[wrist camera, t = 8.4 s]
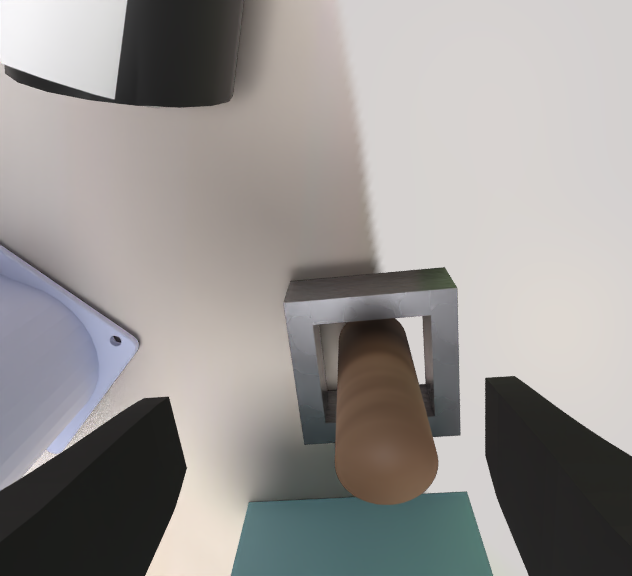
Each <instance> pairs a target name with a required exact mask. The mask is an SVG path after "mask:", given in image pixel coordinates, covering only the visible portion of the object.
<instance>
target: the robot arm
mask: <svg viewBox="0 0 632 576" xmlns="http://www.w3.org/2000/svg"><path fill="white" fill-rule="evenodd" d="M114 336H117V337H119V338H120V339H121V342H117V341H116V340H115V339H114ZM138 348H139V343H138V340H137V339H136V338H135V337H134V336H133V335H131V334H130V333H128V332H127V331H125V330H124V329H122V328H121V327H119V326H118V325H117V324H115V323H114V322H112V321H111V320H109V319H108V318H106V317H105V316H103V315H102V314H101V313H99V312H98V311H96V310H95V309H93V308H92V307H90V306H89V305H87V304H86V303H84V302H83V301H82V300H80V299H79V298H77V297H76V296H74V295H73V294H71V293H70V292H68V291H67V290H66V289H64V288H63V287H61V286H60V285H58V284H57V283H55V282H54V281H52V280H51V279H50V278H48V277H47V276H45V275H44V274H42V273H41V272H39V271H38V270H36V269H35V268H34V267H32V266H31V265H29V264H28V263H26V262H25V261H23V260H22V259H20V258H19V257H18V256H16V255H15V254H13V253H12V252H10V251H9V250H7V249H6V248H4V247H3V246H2V245H0V576H145V575H146V572H147V570H148V568H149V566H150V564H151V561H152V559H153V557H154V555H155V553H156V550H157V548H158V546H159V544H160V542H161V539H162V537H163V535H164V532H165V530H166V528H167V526H168V523H169V521H170V519H171V517H172V514H173V512H174V509H175V507H176V503H177V500H178V497H179V494H180V491H181V487H182V484H183V480H184V476H185V473H186V469H187V467H186V463H185V459H184V455H183V451H182V447H181V443H180V439H179V435H178V431H177V427H176V423H175V419H174V415H173V411H172V407H171V403H170V399H169V397H157V398H144V399H142V400H140V401H138V402H136V403H135V404H133V405H131V406H130V407H128V408H127V409H125V410H124V411H122V412H121V413H119V414H118V415H116V416H115V417H113V418H112V419H110V420H109V421H107V422H106V423H104V424H103V425H102V426H100V427H99V428H97V429H96V430H94V431H93V432H91V433H90V434H88V435H87V436H86V437H84V438H83V439H81V440H80V441H78V442H77V443H75V444H74V445H72V446H71V447H69V448H68V449H66V450H65V451H63V450H64V449H65V447H66V446H67V445H68V443H69V442H70V441H71V439H72V438H73V437H74V435H75V434H76V433H77V431H78V430H79V429H80V427H81V426H82V425H83V423H84V422H85V421H86V419H87V418H88V416H89V415H90V414H91V412H92V411H93V410H94V408H95V407H96V406H97V404H98V403H99V402H100V400H101V399H102V398H103V396H104V395H105V394H106V392H107V391H108V390H109V388H110V387H111V386H112V384H113V383H114V381H115V380H116V379H117V377H118V376H119V375H120V373H121V372H122V371H123V369H124V368H125V367H126V365H127V364H128V363H129V361H130V360H131V359H132V357H133V356H134V355H135V353H136V352H137V351H138ZM485 380H486V381H485V392H486V393H485V396H486V397H485V398H486V399H485V413H486V414H485V428H486V429H485V436H486V437H485V453H486V454H485V456H486V460H487V463H488V467H489V470H490V475H491V478H492V482H493V485H494V489H495V493H496V496H497V499H498V502H499V504H500V507H501V509H502V512H503V514H504V517H505V519H506V521H507V524H508V526H509V528H510V531H511V533H512V536H513V538H514V541H515V543H516V546H517V548H518V550H519V553H520V555H521V558H522V560H523V563H524V565H525V567H526V570H527V572H528V575H529V576H632V456H630V455H629V454H627V453H625V452H624V451H622V450H620V449H619V448H617V447H616V446H614V445H612V444H611V443H609V442H608V441H606V440H604V439H603V438H601V437H600V436H598V435H596V434H595V433H594V432H592V431H591V430H589V429H588V428H586V427H585V426H583V425H582V424H580V423H579V422H577V421H576V420H574V419H573V418H571V417H570V416H569V415H567V414H566V413H564V412H563V411H562V410H560V409H559V408H558V407H556V406H555V405H553V404H552V403H551V402H549V401H548V400H546V399H545V398H544V397H542V396H541V395H540V394H538V393H537V392H536V391H535V390H533V389H532V388H530V387H529V386H528V385H526V384H525V383H523V382H522V381H521V380H519V379H518V378H516V377H515V376H510V377H492V378H485ZM45 450H47V451H49V452H51V453H55V454H58V453H60V454H59V455H57V456H55V457H54V458H52V459H51V460H49V461H48V462H46V463H45V464H43V465H41V466H40V467H38V468H37V469H35V470H34V471H32V472H30V473H29V474H27V475H26V476H24V477H23V478H21V477H22V476H23V475H24V474H25V473H26V472H27V471H28V469H29V468H30V467H31V466H32V465H33V464H34V463H35V462H36V460H37V459H38V458H39V457H40V456H41V455H42V454H43V452H44V451H45ZM62 451H63V452H62ZM61 452H62V453H61Z"/></svg>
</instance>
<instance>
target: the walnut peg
mask: <svg viewBox="0 0 632 576" xmlns="http://www.w3.org/2000/svg"><path fill="white" fill-rule="evenodd" d="M335 470H336V474H337V476H338V479H339V480H340V482H341V484H342V485H343V486H344V488H345V489H346V490H347V491H348V492H350V493H351V494H352V495H354V496H355V497H357V498H359V499H361V500H363V501H366V502H369V503H373V504H379V505H394V504H400V503H404V502H407V501H410V500H412V499H414V498H416V497H418V496H419V495H421V494H422V493H423V492H425V491H426V490H427V489H428V488H429V486H430V485H431V484H432V482H433V480H434V478H435V476H436V474H437V470H438V456H437V452H436V448H435V444H434V441H433V436H432V433H431V429H430V425H429V421H428V417H427V413H426V410H425V406H424V402H423V398H422V394H421V390H420V387H419V383H418V379H417V375H416V371H415V368H414V364H413V360H412V356H411V352H410V348H409V344H408V341H407V337H406V333H405V331H404V328H403V327H402V325H401V324H400V323H399V322H398V321H397V320H396V319H395V318H390V319H378V320H366V321H354V322H347V323H346V324H345V325H344V327H343V329H342V331H341V333H340V337H339V354H338V382H337V411H336V440H335Z"/></svg>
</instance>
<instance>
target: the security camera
mask: <svg viewBox="0 0 632 576" xmlns="http://www.w3.org/2000/svg"><path fill="white" fill-rule="evenodd" d="M243 5H244V0H0V63H1V64H4V65H5V74H7V75H8V76H9V77H11V78H12V79H14V80H15V81H17V82H18V83H21V84H25V85H28V86H31V87H34V88H37V89H40V90H43V91H46V92H51V93H56V94H61V95H66V96H71V97H77V98H82V99H87V100H93V101H102V102H110V103H119V104H127V105H136V106H147V107H154V108H159V107H179V108H180V107H199V106H213V105H217V104H221V103H225V102H229V101H230V99H231V98H232V96H233V90H234V82H235V73H236V65H237V56H238V48H239V39H240V31H241V22H242V14H243Z"/></svg>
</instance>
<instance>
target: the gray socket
mask: <svg viewBox="0 0 632 576" xmlns="http://www.w3.org/2000/svg"><path fill="white" fill-rule="evenodd" d="M457 299H458V298H457V287H456V285H455V283H454V282H453V280H452V279H451V277H450V275H449V274H448V272H447V270H446V269H445V267H443V268H432V269H421V270H410V271H401V272H400V271H399V272H388V273H377V274H366V275H355V276H344V277H334V278H323V279H312V280H301V281H290V284H289V287H288V290H287V293H286V297H285V300H284V303H283V304H284V311H285V317H286V324H287V331H288V338H289V344H290V351H291V358H292V364H293V371H294V378H295V384H296V391H297V398H298V405H299V411H300V418H301V425H302V431H303V438H304V445H308V444H324V443H335V440H336V411H337V390H334V391H327V383H326V375H325V367H324V359H323V351H322V343H321V335H320V327H319V324H330V323H342V322H354V321H366V320H378V319H390V318H402V317H414V316H423V336H424V355H425V356H424V358H425V379H426V384H420V385H419V387H420V390H421V394H422V398H423V402H424V406H425V410H426V413H427V417H428V421H429V425H430V429H431V433H432V436H433V437H441V436H458V435H460V394H459V345H458V304H457V303H458V300H457Z"/></svg>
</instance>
